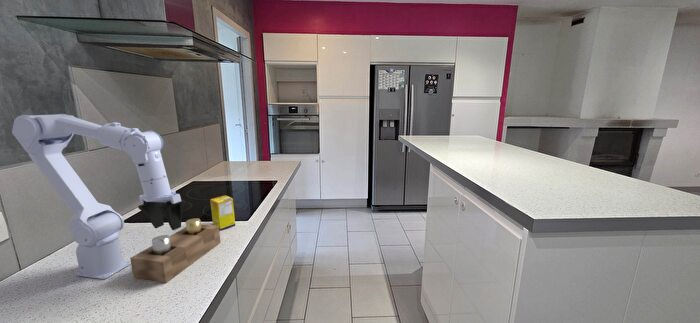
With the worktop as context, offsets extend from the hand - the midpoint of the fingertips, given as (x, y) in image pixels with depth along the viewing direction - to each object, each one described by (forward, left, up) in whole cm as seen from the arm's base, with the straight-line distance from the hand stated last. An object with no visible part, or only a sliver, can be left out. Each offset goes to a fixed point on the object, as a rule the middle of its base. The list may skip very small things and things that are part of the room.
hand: (167, 227), depth 76 cm
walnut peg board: (-3, +6, -13) cm, 14 cm away
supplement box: (-5, +29, -13) cm, 32 cm away
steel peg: (-3, 0, -9) cm, 9 cm away
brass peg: (-3, +12, -9) cm, 15 cm away
